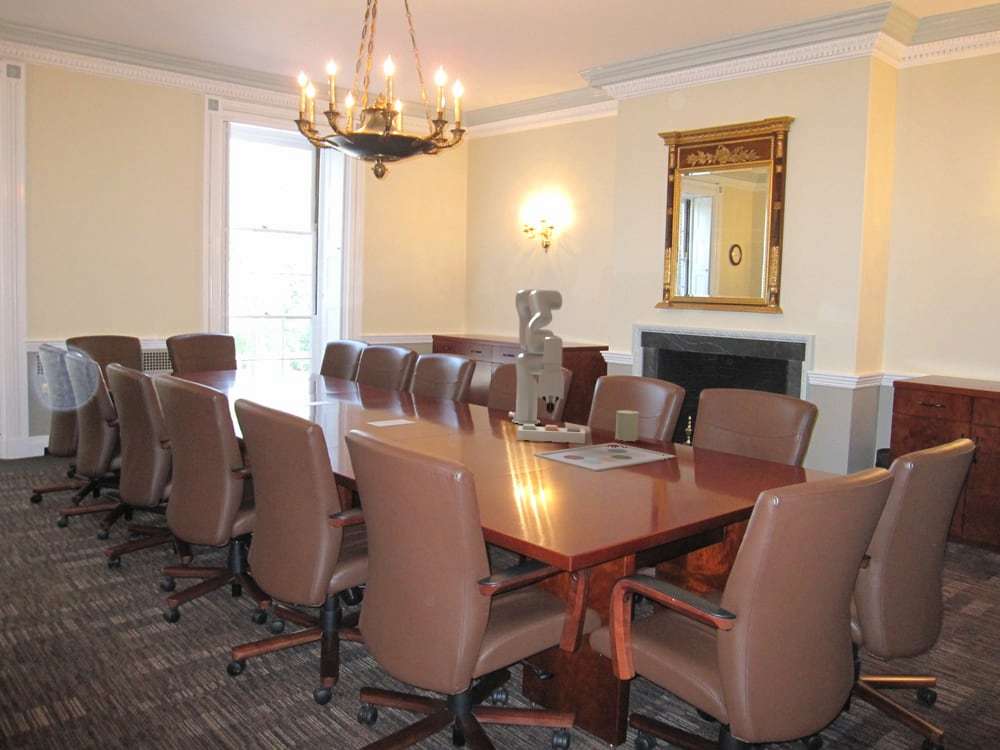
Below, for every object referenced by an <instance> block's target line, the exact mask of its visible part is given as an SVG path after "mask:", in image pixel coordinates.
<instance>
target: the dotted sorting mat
mask: <svg viewBox="0 0 1000 750" xmlns="http://www.w3.org/2000/svg"><path fill="white" fill-rule="evenodd" d="M608 445H618V446H619V447H616V448H615V447H613V448H612V447H611V446H609V447H607V446H608ZM621 446H623V447H624V448H623V447H621ZM625 447H627V448H625ZM663 455H664V456H663ZM533 457H538V458H541V459H545V460H548V461H553V462H557V463H561V464H565V465H567V466H568V465H569V466H573V467H576V468H580V469H584V470H587V471H588V470H589V471H591V472H601V471H605V470H611V469H618V468H624V467H629V466H635V465H636V466H637V465H641V464H648V463H654V462H658V461H659V460H660V461H664V459H666V460H669V459H668V458H671V459H674V458H673V457H675V458H676V455H673V454H667V453H665V452H659V451H655V450H649V449H644V448H641V447H636V446H631V445H627V444H621V443H617V442H608V443H602V444H594V445H587V446H581V447H580V446H579V447H573V448H565V449H558V450H552V451H545V452H538V453H533Z"/></svg>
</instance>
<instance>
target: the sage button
mask: <svg viewBox="0 0 1000 750" xmlns="http://www.w3.org/2000/svg"><path fill="white" fill-rule="evenodd" d="M522 426H523V429H526V430H535V427H536V425H535V424H523V425H522Z"/></svg>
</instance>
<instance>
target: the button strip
mask: <svg viewBox="0 0 1000 750" xmlns="http://www.w3.org/2000/svg"><path fill="white" fill-rule="evenodd" d="M568 428H569V427H557V431H547V430H545V426H535V430H526V429H523V425H518V428H517V431H516V432H517V433H516V440H517V441H524V440H529V441H530V442H545V441H552V443H566V442H570V443H572V444H586V430H585V428H579V429H580V432H569V431H568ZM529 441H528V442H529Z"/></svg>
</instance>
